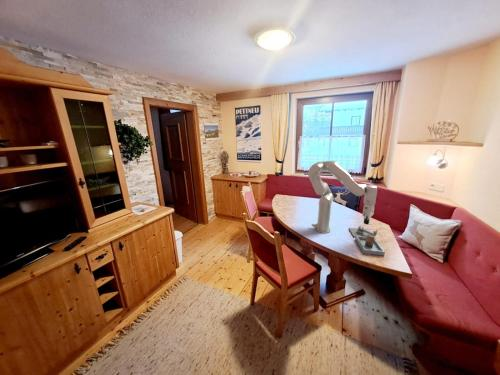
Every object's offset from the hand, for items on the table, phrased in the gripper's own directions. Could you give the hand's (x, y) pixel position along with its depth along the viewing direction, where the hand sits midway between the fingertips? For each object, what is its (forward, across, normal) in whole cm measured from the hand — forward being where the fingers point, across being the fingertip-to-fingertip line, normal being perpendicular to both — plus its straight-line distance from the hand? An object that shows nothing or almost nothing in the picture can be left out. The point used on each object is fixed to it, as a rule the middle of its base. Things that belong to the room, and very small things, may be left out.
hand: (366, 223), depth 149 cm
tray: (+14, -8, -6) cm, 17 cm away
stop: (+13, -8, -6) cm, 17 cm away
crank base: (+14, +8, +6) cm, 17 cm away
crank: (+10, +7, +1) cm, 12 cm away
